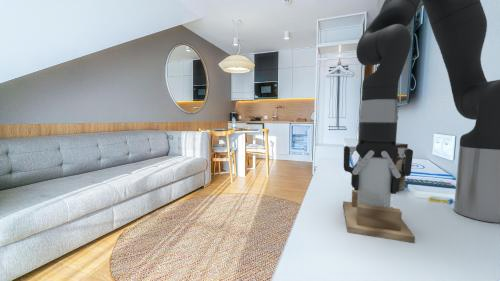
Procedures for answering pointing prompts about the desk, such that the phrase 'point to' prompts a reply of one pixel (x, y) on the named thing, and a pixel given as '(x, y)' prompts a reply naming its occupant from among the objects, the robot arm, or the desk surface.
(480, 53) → the robot arm
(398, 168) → the coffee box
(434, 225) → the desk surface
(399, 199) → the desk surface
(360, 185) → the skincare box
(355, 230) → the oak cradle board
